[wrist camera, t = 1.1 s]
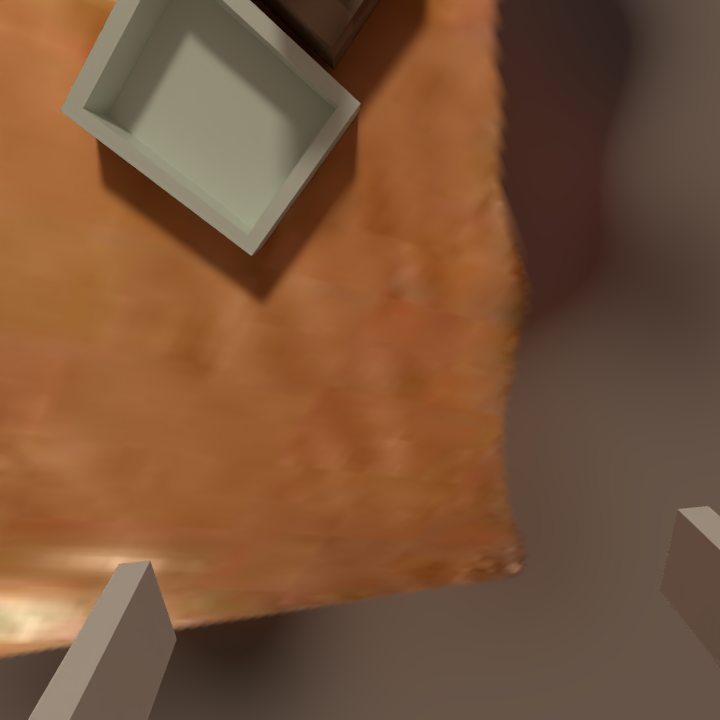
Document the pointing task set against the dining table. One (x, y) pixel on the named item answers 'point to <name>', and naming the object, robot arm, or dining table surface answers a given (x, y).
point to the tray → (212, 108)
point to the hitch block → (324, 22)
